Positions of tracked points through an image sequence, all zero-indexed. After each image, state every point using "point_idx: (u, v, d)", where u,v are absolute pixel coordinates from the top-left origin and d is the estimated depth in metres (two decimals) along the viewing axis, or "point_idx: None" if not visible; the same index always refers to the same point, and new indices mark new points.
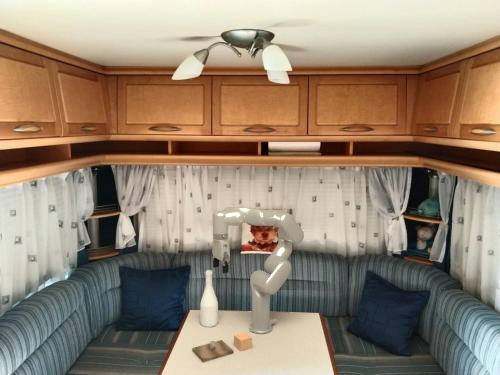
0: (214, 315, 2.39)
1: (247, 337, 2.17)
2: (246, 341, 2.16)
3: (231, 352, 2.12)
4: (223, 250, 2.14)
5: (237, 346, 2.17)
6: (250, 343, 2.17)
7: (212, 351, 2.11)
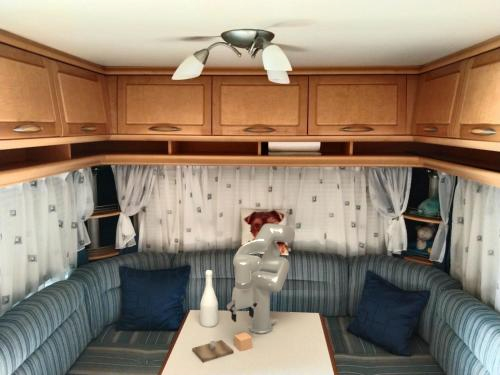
0: (214, 315, 2.39)
1: (247, 337, 2.17)
2: (246, 341, 2.16)
3: (231, 352, 2.12)
4: None
5: (237, 346, 2.17)
6: (250, 343, 2.17)
7: (212, 351, 2.11)
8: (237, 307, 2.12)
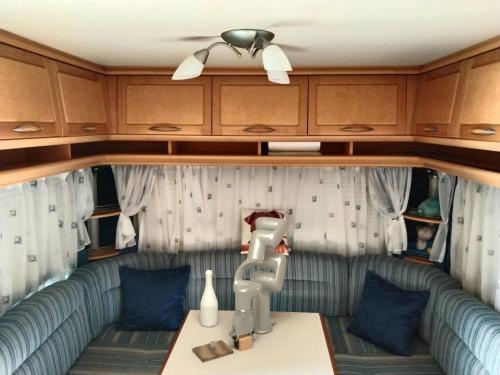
0: (214, 315, 2.39)
1: (247, 337, 2.17)
2: (246, 341, 2.16)
3: (231, 352, 2.12)
4: None
5: None
6: (250, 343, 2.17)
7: (212, 351, 2.11)
8: (237, 334, 2.14)
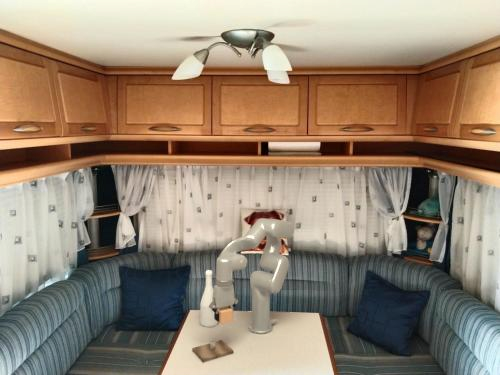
0: None
1: (228, 310, 2.11)
2: (227, 313, 2.10)
3: (231, 352, 2.12)
4: None
5: None
6: (231, 316, 2.11)
7: (212, 351, 2.11)
8: (218, 305, 2.08)
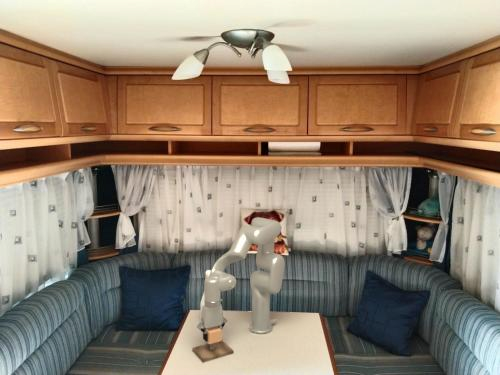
0: None
1: (216, 330, 2.11)
2: (215, 334, 2.09)
3: (231, 352, 2.12)
4: None
5: None
6: (219, 336, 2.11)
7: (212, 351, 2.11)
8: (206, 326, 2.07)
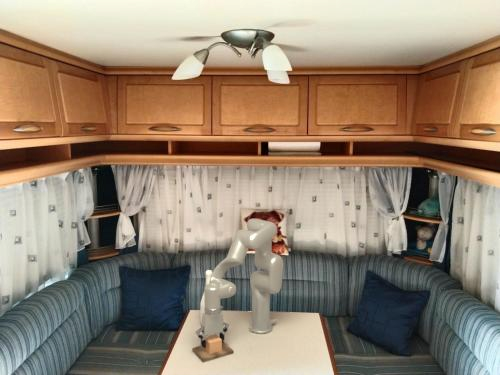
0: None
1: (217, 339, 2.11)
2: (215, 343, 2.10)
3: (231, 352, 2.12)
4: None
5: (206, 348, 2.11)
6: (220, 345, 2.12)
7: None
8: (206, 333, 2.08)
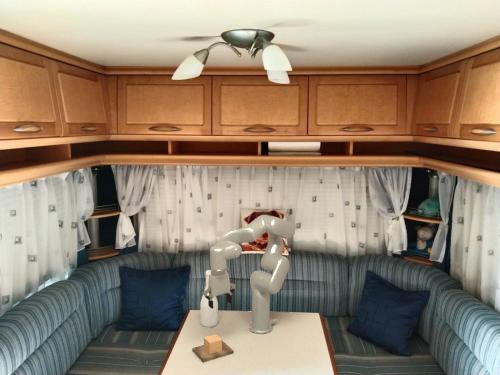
0: (214, 315, 2.39)
1: (217, 339, 2.11)
2: (215, 343, 2.10)
3: (231, 352, 2.12)
4: None
5: (206, 348, 2.11)
6: (220, 345, 2.12)
7: None
8: (213, 294, 2.09)
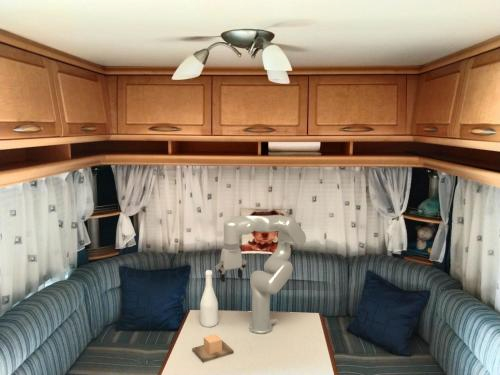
0: (214, 315, 2.39)
1: (217, 339, 2.11)
2: (215, 343, 2.10)
3: (231, 352, 2.12)
4: None
5: (206, 348, 2.11)
6: (220, 345, 2.12)
7: None
8: (225, 267, 2.15)
